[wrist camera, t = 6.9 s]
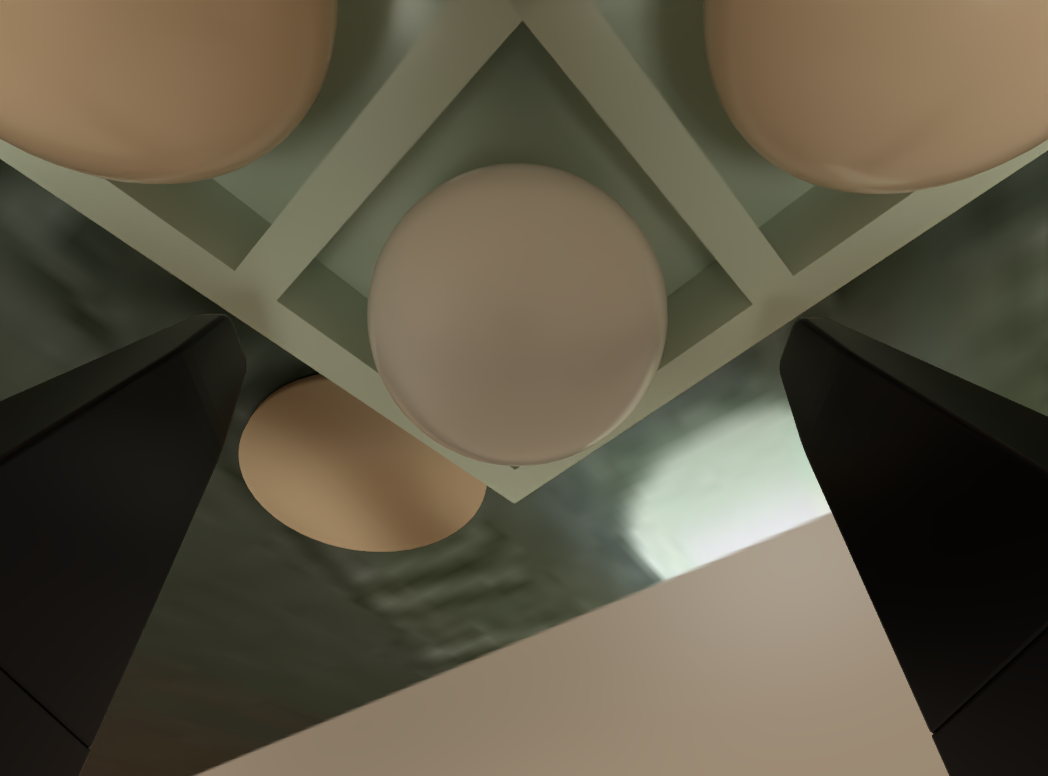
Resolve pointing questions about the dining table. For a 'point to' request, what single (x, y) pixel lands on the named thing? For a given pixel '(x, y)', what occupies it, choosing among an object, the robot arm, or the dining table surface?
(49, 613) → the robot arm
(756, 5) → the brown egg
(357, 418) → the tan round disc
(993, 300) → the dining table surface
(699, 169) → the egg tray
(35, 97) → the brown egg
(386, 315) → the white egg
